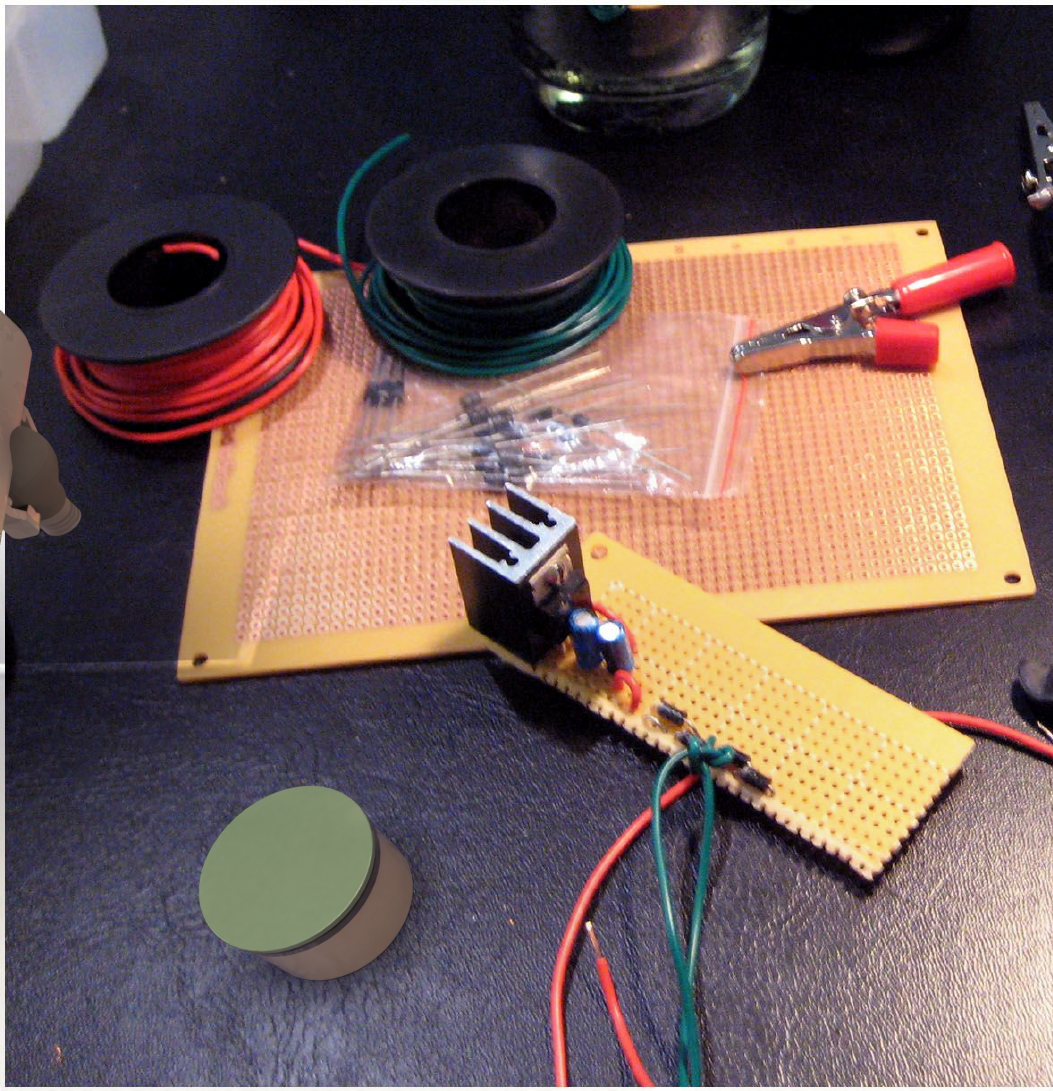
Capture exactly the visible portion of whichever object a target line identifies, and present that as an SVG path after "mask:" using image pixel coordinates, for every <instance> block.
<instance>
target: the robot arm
mask: <svg viewBox="0 0 1053 1091" xmlns="http://www.w3.org/2000/svg"><path fill="white" fill-rule="evenodd" d="M32 358H33V351H32V348H31V346H30V343H29V340H28V339H27V336H26V335H25V333H24V332H23V330H22V329H21V328H19V326H17V324H16V323H15V322H14V321H12V319H11V318H10V317H9V316H7V314H5V312H3V311H2V310H1V309H0V544H1V542H2V536H3V532H5V533H6V534H7V535H8V536H9V537H11V538H12V539H14V540H15V539H17V540H22V539H26V538H32V537H36V536H38V535H39V534H40V530H41V528H40V520H41V515H40V514H39V513H38V512H36V511H35V509H34V508H33V507H32V506H31V505H30V504H27V505H25V506H22V507H19V508H11V507H10V506H12V500H11V499H10V498H9V497H8V495H9V489H10V483H11V477H12V471H13V465H12V459H11V452H10V444H9V443H10V435H11V433H12V431H13V430H14V429H15V428H16V427H17V426H20V425H22V426H25V427H28V428H30V429H32V430H34V431H36V432H38V430H37V427H36V424H35V423H34V420H33V418H32V416H31V413H30V411H29V409H28V408H27V406H25V405H24V404H25V399H26V392H27V385H28V380H29V375H30V374H29V373H30V368H31V362H32Z"/></svg>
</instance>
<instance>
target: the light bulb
mask: <svg viewBox="0 0 1053 1091" xmlns="http://www.w3.org/2000/svg"><path fill="white" fill-rule="evenodd" d="M9 444H10V452H11V459H12V465H13V471H12V477H11V483H10V489H9V495H8V497H9V498H10V499H11V500H12V506H10V507H11V508H19V507H22V506H25V505H27V504H30V505H31V506H32V507H33V508H34V509H35V511H36V512H38V513H39V514H40V515H41V520H40V529H41V530H43V531H44V532H45V533H46V534H47V535H49V536H52V537H58V536H62V535H65V534H68V533H70V532H72V530H73V529H74V528H76V527H77V526H78V524H79V523H80V521H81V518H82V512H81V510H80V509H79V508H78V507H77V506H76V505H75V504H74V503H73V502H72V501H71V500H70V499H69V498H68V497H67V495H66V490H65V488H64V486H63V485H62V483H61V482H60V477H59V462H58V457H57V455H56V452H55V451H54V449H53V447H52V445H51V444H50V443H49V441H48V440H47V439H46V438H45V436H43V435H42V434H40V433H39V432H38V431H37V432H36V431H34V430H32V429H30V428H28V427H25V426H22V425H20V426H17V427H16V428H15V429H14V430H13V431H12V433H11V435H10V443H9Z"/></svg>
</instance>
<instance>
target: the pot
mask: <svg viewBox="0 0 1053 1091" xmlns="http://www.w3.org/2000/svg"><path fill="white" fill-rule="evenodd" d="M413 891H414V882H413V874H412V870H411V867H410V865H409V862H408V860H407V858H406V857H405V855H404V854H403V852H402V851H401V850H400V849H399V848H398V847H397V846H396V845H395V844H394V843H393V841H391V840H390V839H389V838H388V837H387V836H385V835H384V834H383V833H382V832H381V830H379V829H378V828H377V827H376V826H375V825H374V823H373V821H372V820H371V819H370V817H369V816H368V815H367V813H366V812H365V810H364V809H363V808H362V807H361V806H360V805H359V804H358V803H357V802H356V801H355V800H354V799H352V798H351V797H350V796H349V795H347V794H345V793H343V792H341V791H340V790H336V789H333V788H332V787H325V786H320V785H303V786H301V785H300V786H295V787H290V788H285V789H282V790H279V791H276V792H274V793H271V794H269V795H266V796H264V797H262V798H261V799H259V800H257V801H255V802H254V803H252V804H251V805H250V806H248V807H246V808H245V809H243V810H242V811H241V812H240V813H239V814H238V815H236V816H235V817H234V818H233V819H232V820H231V821H230V822H229V823H228V824H227V825H226V827H225V828H224V829H223V830H222V831H221V832H220V834H219V835H218V837H217V838H216V840H215V841H214V842H213V844H212V846H211V848H210V850H209V852H207V855H206V858H205V860H204V863H203V865H202V868H201V872H200V877H199V885H198V900H199V906H200V911H201V913H202V916H203V919H204V921H205V923H206V924H207V926H208V928H209V929H210V930H211V931H212V933H213V934H214V935H215V936H216V937H218V938H219V939H220V940H221V941H222V942H224V943H226V944H227V945H229V946H231V947H233V948H235V949H237V950H241V951H242V952H246V953H247V954H251V955H255V956H258V957H259V958H262V959H263V960H265V961H266V962H268V963H270V964H272V965H273V966H275V967H277V968H278V969H280V970H282V971H283V972H284V973H287V974H289V975H291V976H293V977H295V978H298V979H302V980H308V981H328V980H333V979H338V978H341V977H344V976H348V975H350V974H352V973H354V972H356V971H358V970H360V969H362V968H364V967H365V966H367V965H368V964H370V963H371V962H373V961H374V960H375V959H377V958H378V957H379V956H380V955H381V954H382V953H383V952H385V950H386V949H387V948H389V946H390V945H391V944H392V943H393V942H394V940H395V938H396V937H397V936H398V935H399V933H400V931H401V929H402V927H403V926H404V924H405V923H406V920H407V917H408V916H409V912H410V909H411V905H412V902H413V901H412V900H413V894H414V892H413Z"/></svg>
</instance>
